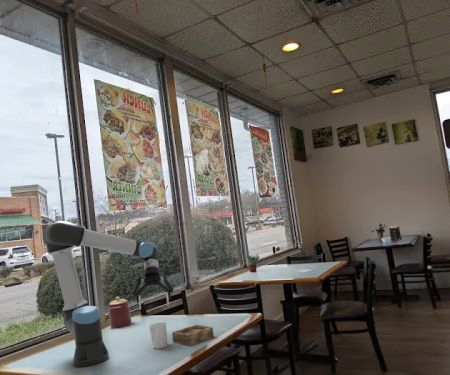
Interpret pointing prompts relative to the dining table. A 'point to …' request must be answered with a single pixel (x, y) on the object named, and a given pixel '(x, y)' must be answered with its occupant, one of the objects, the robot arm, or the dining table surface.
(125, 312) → the canister
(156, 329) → the white cup
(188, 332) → the brown wooden tray
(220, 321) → the dining table surface
